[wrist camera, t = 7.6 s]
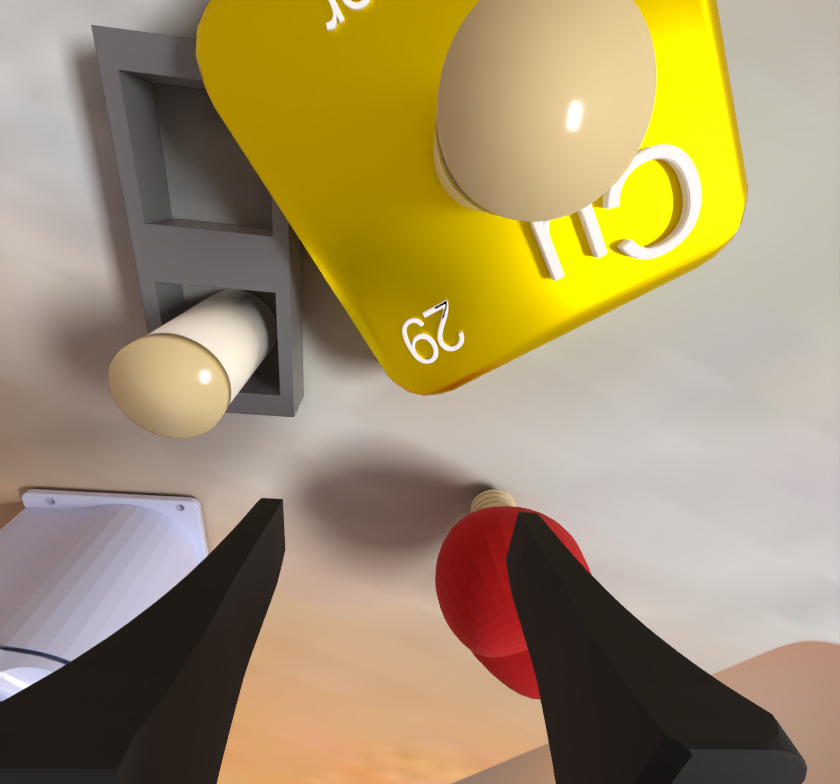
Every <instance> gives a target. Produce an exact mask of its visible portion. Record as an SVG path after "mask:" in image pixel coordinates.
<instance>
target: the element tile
mask: <svg viewBox="0 0 840 784" xmlns="http://www.w3.org/2000/svg"><path fill="white" fill-rule="evenodd" d="M479 1H480V0H210V1H209V2H208V4H207V6H206V9H205V11H204V13H203V15H202V18H201V20H200V22H199V24H198V27H197V38H196V58H197V62H198V66H199V70H200V73H201V77H202V81H203V85H204V87H205V89H206V91H207V93H208V95H209V97H210V99H211V101H212V103H213V106H214V107H215V109H216V110H217V112H218V114H219V115H220V117H221V118H222V120H223V121H224V123H225V124H226V126H227V128H228V129H229V131H230V132H231V134H232V135H233V137H234V138H235V140H236V141H237V143H238V145H239V146H240V148H241V149H242V151H243V152H244V154H245V155H246V157H247V159H248V160H249V162H250V163H251V165H252V166H253V168H254V169H255V171H256V172H257V174H258V176H259V177H260V179H261V180H262V182H263V183H264V185H265V186H266V188H267V190H268V191H269V193H270V194H271V196H272V197H273V199H274V200H275V202H276V203H277V205H278V207H279V208H280V210H281V211H282V213H283V214H284V216H285V217H286V219H287V221H288V222H289V224H290V225H291V227H292V228H293V230H294V231H295V233H296V234H297V236H298V238H299V239H300V241H301V242H302V244H303V245H304V247H305V248H306V250H307V252H308V253H309V255H310V256H311V258H312V259H313V261H314V262H315V264H316V265H317V267H318V269H319V270H320V272H321V273H322V275H323V276H324V278H325V279H326V281H327V283H328V284H329V286H330V287H331V289H332V290H333V292H334V293H335V295H336V296H337V298H338V300H339V301H340V303H341V304H342V306H343V307H344V309H345V310H346V312H347V314H348V315H349V317H350V318H351V320H352V321H353V323H354V324H355V326H356V327H357V329H358V331H359V332H360V334H361V335H362V337H363V338H364V340H365V341H366V343H367V345H368V346H369V348H370V349H371V351H372V352H373V354H374V355H375V357H376V358H377V360H378V362H379V363H380V365H381V366H382V368H383V369H384V371H385V372H386V374H387V375H388V377H390V378H391V379H392V380H393V381H394V382H395V383H396V384H398V385H399V386H400V387H402V388H403V389H405V390H406V391H408V392H411V393H415V394H419V395H423V396H426V395H435V394H442V393H445V392H448V391H451V390H454V389H456V388H458V387H460V386H462V385H464V384H466V383H468V382H470V381H472V380H474V379H476V378H478V377H480V376H482V375H484V374H486V373H488V372H490V371H492V370H494V369H496V368H498V367H500V366H502V365H504V364H506V363H508V362H510V361H512V360H514V359H516V358H518V357H520V356H522V355H524V354H526V353H528V352H530V351H532V350H534V349H536V348H538V347H540V346H542V345H544V344H546V343H548V342H550V341H552V340H554V339H556V338H558V337H560V336H562V335H564V334H566V333H568V332H570V331H572V330H574V329H576V328H578V327H580V326H582V325H584V324H586V323H588V322H590V321H592V320H594V319H596V318H598V317H600V316H602V315H604V314H606V313H608V312H610V311H612V310H614V309H616V308H618V307H620V306H622V305H624V304H626V303H628V302H630V301H632V300H634V299H636V298H638V297H640V296H642V295H644V294H646V293H648V292H650V291H652V290H654V289H656V288H658V287H660V286H662V285H664V284H666V283H668V282H670V281H672V280H674V279H676V278H678V277H680V276H682V275H684V274H686V273H688V272H690V271H692V270H694V269H696V268H698V267H699V266H701V265H702V264H704V263H705V262H707V261H708V260H710V259H711V258H713V257H714V256H716V255H717V254H718V253H719V252H720V251H721V250H722V249H723V248H724V247H725V246H726V245H727V244H728V243H729V242H730V241H731V240H732V238H733V236H734V235H735V233H736V231H737V229H738V228H739V226H740V224H741V223H742V220H743V215H744V211H745V207H746V202H747V192H748V185H747V179H746V173H745V167H744V161H743V155H742V150H741V144H740V138H739V132H738V126H737V120H736V114H735V108H734V102H733V96H732V90H731V85H730V79H729V73H728V67H727V61H726V55H725V49H724V43H723V37H722V31H721V25H720V19H719V14H718V8H717V2H716V0H633V1H634V2H635V4H636V5H637V7H638V8H639V10H640V12H641V14H642V16H643V18H644V20H645V22H646V24H647V27H648V29H649V32H650V35H651V38H652V42H653V47H654V52H655V58H656V70H657V81H656V95H655V102H654V108H653V112H652V116H651V120H650V124H649V126H648V129H647V132H646V135H645V137H644V140H643V142H642V144H641V146H640V148H639V150H638V152H637V154H636V156H635V157H634V159H633V160H632V162H631V164H630V165H629V167H628V168H627V170H626V171H625V172H624V173H623V175H622V176H621V177H620V178H619V180H618V181H617V182H616V183H615V184H614V185H613V186H612V187H611V188H610V189H609V190H608V191H607V192H606V193H605V194H603V195H602V196H601V197H600V198H598V199H597V200H596V201H594V202H593V203H591V204H590V205H588V206H587V207H585V208H583V209H581V210H579V211H577V212H575V213H573V214H571V215H568V216H565V217H562V218H559V219H554V220H549V221H540V222H528V221H518V220H513V219H509V218H504V217H501V216H497V215H493V214H489V213H485V212H479V211H474V210H470V209H468V208H465V207H463V206H461V205H460V204H458V203H457V202H455V201H454V200H453V199H452V198H451V197H450V196H449V195H448V194H447V193H446V191H445V190H444V189H443V187H442V185H441V184H440V182H439V180H438V177H437V175H436V171H435V168H434V162H433V141H434V134H435V123H436V110H437V97H438V89H439V83H440V78H441V72H442V68H443V65H444V62H445V59H446V55H447V52H448V50H449V48H450V45H451V43H452V41H453V38H454V36H455V35H456V33H457V31H458V29H459V28H460V26H461V24H462V22H463V21H464V19H465V18H466V17H467V15H468V14H469V13H470V11H471V10H472V9H473V7H474V6H475V5H476V4H477V3H478V2H479Z"/></svg>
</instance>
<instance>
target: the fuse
mask: <svg viewBox="0 0 840 784" xmlns="http://www.w3.org/2000/svg"><path fill="white" fill-rule="evenodd" d="M276 338H277V324H276V320H275V318H274V315H273V314H272V312H271V310H270V309H269V307H268V306H267V305H266V304H265V303H264V302H263V301H262V300H261V299H259V298H258V297H256V296H255V295H253V294H251V293H249V292H246V291H243V290H237V289H227V290H222V291H219V292H216V293H215V294H213V295H211V296H210V297H208V298H206V299H205V300H203V301H202V302H200V303H198V304H197V305H195V306H193V307H192V308H190V309H189V310H187V311H185V312H184V313H182V314H180V315H179V316H177V317H176V318H174V319H172V320H171V321H169V322H167V323H166V324H164V325H163V326H161V327H159V328H158V329H156V330H154V331H153V332H151V333H150V334H148V335H145V336H143V337H140V338H138V339H137V340H135V341H133V342H132V343H130V344H128V345H127V346H125V347H123V348H122V349H121V350H120V351H119V352H118V353H117V354H116V355H115V356H114V358H113V360H112V362H111V364H110V367H109V372H108V382H109V388H110V391H111V394H112V396H113V398H114V400H115V402H116V404H117V405H118V407H119V408H120V409H121V410H122V412H123V413H124V414H125V415H126V416H127V417H128V418H129V419H130V420H132V421H133V422H134V423H136V424H137V425H139V426H140V427H142V428H143V429H145V430H147V431H149V432H152V433H154V434H157V435H160V436H164V437H169V438H191V437H195V436H198V435H201V434H203V433H205V432H207V431H209V430H210V429H212V428H213V427H214V426H215V425H216V424H217V423H218V421H219V420H220V419H221V417H222V416H223V415H224V413H225V412H226V410H227V408H228V406H229V404H230V403H231V402H232V400H233V399H234V398H235V396H236V395H237V394H238V393H239V391H240V390H241V389H242V387H243V386H244V385H245V383H246V382H247V381H248V379H249V378H250V377H251V375H252V374H253V373H254V371H255V370H256V369H257V368H258V366H259V365H260V364H261V362H262V361H263V360H264V358H265V357H266V356H267V354H268V353H269V352H270V350H271V349H272V348H273V346H274V344H275V342H276Z"/></svg>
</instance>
